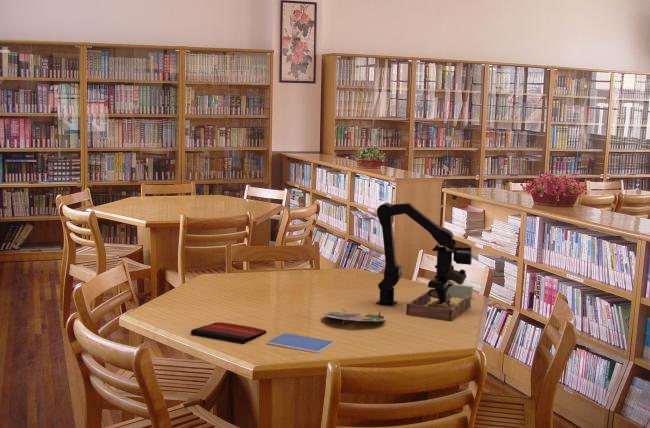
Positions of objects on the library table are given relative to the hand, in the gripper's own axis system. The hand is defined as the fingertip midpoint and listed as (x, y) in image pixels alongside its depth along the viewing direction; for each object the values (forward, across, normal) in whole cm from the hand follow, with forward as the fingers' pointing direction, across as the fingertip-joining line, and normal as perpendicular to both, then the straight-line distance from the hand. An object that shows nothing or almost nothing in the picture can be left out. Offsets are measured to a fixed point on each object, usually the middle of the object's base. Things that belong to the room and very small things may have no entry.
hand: (442, 302), depth 302 cm
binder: (+3, -71, +51) cm, 87 cm away
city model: (+3, -34, +21) cm, 40 cm away
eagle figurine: (+2, +3, +2) cm, 4 cm away
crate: (+2, -4, 0) cm, 4 cm away
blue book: (+4, -68, +25) cm, 73 cm away
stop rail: (+2, +21, 0) cm, 22 cm away
